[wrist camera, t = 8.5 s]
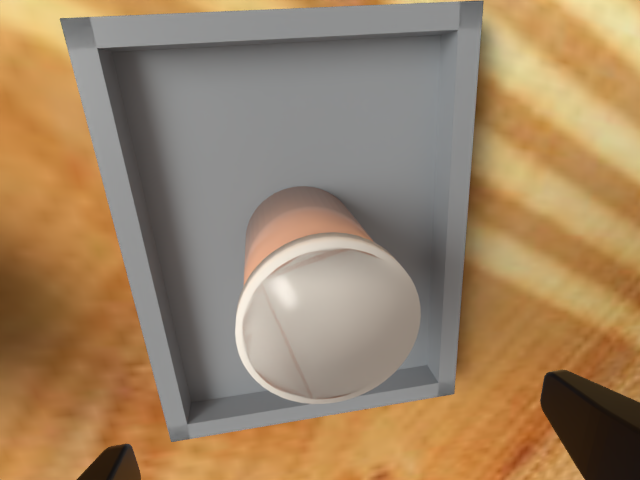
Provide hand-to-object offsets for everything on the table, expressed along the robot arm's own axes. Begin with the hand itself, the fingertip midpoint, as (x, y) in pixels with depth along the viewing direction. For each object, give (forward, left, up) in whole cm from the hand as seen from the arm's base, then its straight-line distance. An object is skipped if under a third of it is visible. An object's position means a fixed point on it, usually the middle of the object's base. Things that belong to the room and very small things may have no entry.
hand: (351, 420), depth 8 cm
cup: (0, +1, -12) cm, 12 cm away
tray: (0, +1, -13) cm, 13 cm away
